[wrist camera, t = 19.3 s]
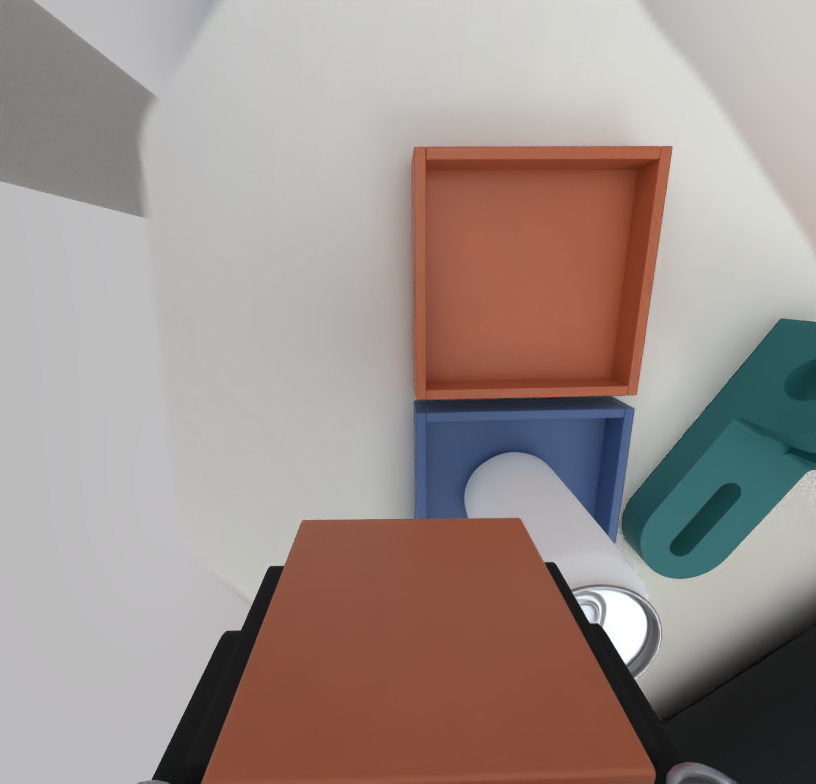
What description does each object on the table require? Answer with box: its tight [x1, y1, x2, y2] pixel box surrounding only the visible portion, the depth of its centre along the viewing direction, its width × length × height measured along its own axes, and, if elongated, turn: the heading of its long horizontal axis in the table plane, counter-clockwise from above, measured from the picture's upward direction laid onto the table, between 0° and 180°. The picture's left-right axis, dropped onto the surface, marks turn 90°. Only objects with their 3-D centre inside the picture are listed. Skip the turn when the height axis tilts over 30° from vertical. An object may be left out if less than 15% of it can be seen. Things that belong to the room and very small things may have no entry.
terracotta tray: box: [412, 146, 672, 400], centre depth 23 cm, size 13×13×2 cm
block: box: [201, 518, 656, 784], centre depth 7 cm, size 5×5×5 cm
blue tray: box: [414, 397, 635, 544], centre depth 27 cm, size 13×13×2 cm
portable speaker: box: [662, 624, 816, 784], centre depth 29 cm, size 26×10×10 cm, turn 133°
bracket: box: [622, 319, 816, 579], centre depth 24 cm, size 18×7×8 cm, turn 148°
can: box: [464, 452, 662, 680], centre depth 22 cm, size 6×6×12 cm
